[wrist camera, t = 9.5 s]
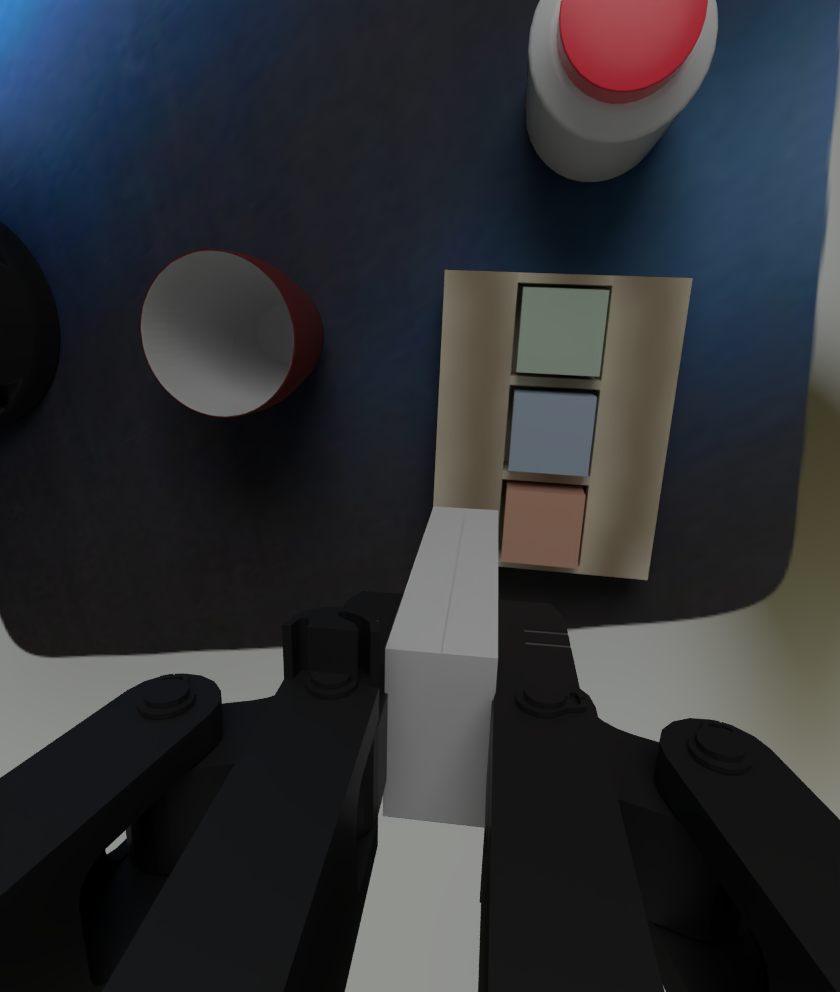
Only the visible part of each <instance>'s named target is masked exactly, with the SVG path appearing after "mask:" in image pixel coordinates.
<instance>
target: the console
mask: <svg viewBox="0 0 840 992" xmlns="http://www.w3.org/2000/svg"><path fill="white" fill-rule="evenodd" d="M692 279H693V278H669V277H639V276H610V275H580V274H550V273H520V272H490V271H461V270H445V280H444V300H443V320H442V340H441V360H440V380H439V400H438V421H437V441H436V461H435V481H434V501H433V507H434V506H435V507H451V508H468V509H484V510H498V566H499V567H510V568H521V569H532V570H543V571H554V572H564V573H575V574H586V575H597V576H608V577H619V578H630V579H641V580H648V573H649V566H650V560H651V553H652V546H653V540H654V533H655V526H656V519H657V513H658V506H659V499H660V493H661V486H662V479H663V473H664V466H665V459H666V453H667V446H668V439H669V432H670V426H671V419H672V412H673V406H674V399H675V392H676V386H677V379H678V372H679V366H680V359H681V352H682V345H683V339H684V332H685V325H686V319H687V312H688V305H689V299H690V292H691V285H692ZM523 287H539V288H566V289H593V290H609V299H608V308H607V316H606V325H605V333H604V342H603V350H602V359H601V368H600V376H599V377H597V376H578V375H560V374H541V373H522V372H516V364H517V352H518V340H519V327H520V315H521V303H522V291H523ZM515 387H517V388H535V389H553V390H571V391H589V392H592V393H593V394H594V395H595V396H596V397H597V402H596V411H595V419H594V428H593V436H592V445H591V453H590V462H589V471H588V477H586V476H572V475H558V474H545V473H531V472H517V471H508V465H509V450H510V438H511V426H512V413H513V401H514V389H515ZM507 479H509V480H522V481H536V482H549V483H563V484H576V485H581V486H582V488H583V491H584V493H585V495H586V496H585V505H584V514H583V522H582V531H581V539H580V548H579V556H578V565H577V569H575V568H564V567H553V566H542V565H531V564H520V563H509V562H501V550H502V536H503V524H504V511H505V499H506V487H507Z"/></svg>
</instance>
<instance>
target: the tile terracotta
mask: <svg viewBox="0 0 840 992" xmlns="http://www.w3.org/2000/svg"><path fill="white" fill-rule="evenodd" d="M585 496H586V495H585V493H584V491H583V488H582V486H581V485H576V484H563V483H549V482H536V481H522V480H509V479H507V487H506V499H505V511H504V524H503V536H502V550H501V562H509V563H520V564H531V565H542V566H553V567H564V568H575V569H577V565H578V556H579V548H580V539H581V531H582V522H583V514H584V505H585Z"/></svg>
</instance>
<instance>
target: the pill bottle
mask: <svg viewBox="0 0 840 992" xmlns="http://www.w3.org/2000/svg"><path fill="white" fill-rule="evenodd" d="M717 32H718V16H717V4H716V0H540V1H539V3H538V5H537V8H536V10H535V13H534V17H533V21H532V25H531V29H530V34H529V47H528V63H527V82H526V101H525V118H526V128H527V131H528V134H529V138H530V141H531V143H532V145H533V147H534V149H535V151H536V153H537V155H538V156H539V157H540V158H541V159H542V161H543V162H544V163H545V164H546V165H547V166H548V167H549V168H551V169H552V170H553V171H554V172H556V173H557V174H559V175H561V176H563V177H566V178H568V179H571V180H575V181H579V182H600V181H605V180H610V179H612V178H615V177H617V176H620V175H622V174H624V173H626V172H627V171H629V170H630V169H632V168H633V167H635V166H636V165H637V164H638V163H639V162H640V161H642V160H643V159H644V158H645V157H646V156H647V155H648V154H649V152H650V151H651V150H652V149H653V147H654V146H655V145H656V144H657V142H658V141H659V140H660V138H661V137H662V136H663V135H664V133H665V132H666V131H667V130H668V128H669V127H670V126H671V125H672V123H673V122H674V121H675V119H676V118H677V117H678V116H679V114H680V113H681V112H682V111H683V109H684V108H685V107H686V105H687V104H688V103H689V101H690V100H691V99H692V97H693V96H694V95H695V94H696V92H697V91H698V89H699V87H700V85H701V83H702V81H703V80H704V78H705V76H706V74H707V72H708V70H709V66H710V63H711V60H712V57H713V54H714V51H715V45H716V38H717Z"/></svg>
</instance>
